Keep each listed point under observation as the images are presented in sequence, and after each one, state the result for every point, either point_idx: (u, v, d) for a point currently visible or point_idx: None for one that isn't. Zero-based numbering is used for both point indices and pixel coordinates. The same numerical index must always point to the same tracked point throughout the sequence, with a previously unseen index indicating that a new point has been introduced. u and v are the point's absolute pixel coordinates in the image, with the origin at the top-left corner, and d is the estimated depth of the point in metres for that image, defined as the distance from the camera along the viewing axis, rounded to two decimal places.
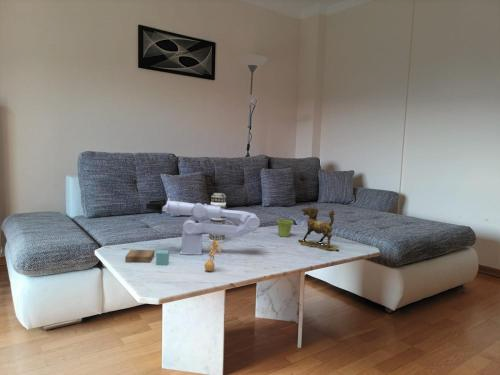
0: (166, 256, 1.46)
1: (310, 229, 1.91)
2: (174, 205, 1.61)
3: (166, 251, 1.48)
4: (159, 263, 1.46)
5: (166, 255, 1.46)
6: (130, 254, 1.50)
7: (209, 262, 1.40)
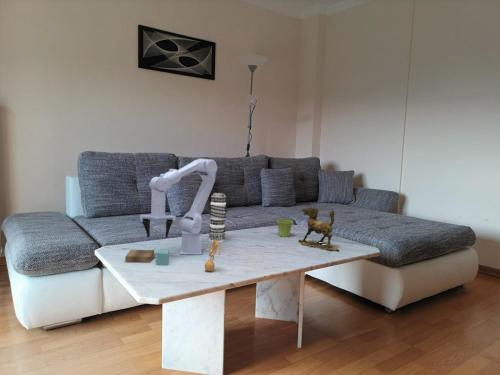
0: (166, 256, 1.46)
1: (310, 229, 1.91)
2: (163, 210, 1.52)
3: (166, 251, 1.48)
4: (159, 263, 1.46)
5: (166, 255, 1.46)
6: (130, 254, 1.50)
7: (209, 262, 1.40)
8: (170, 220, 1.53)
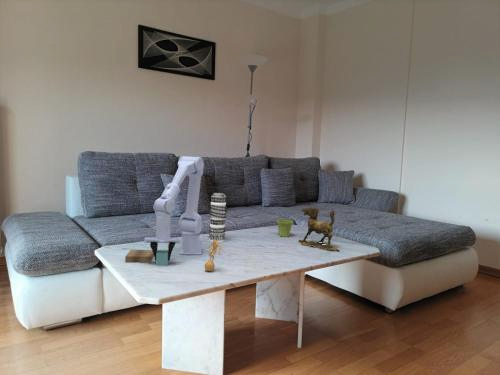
0: (166, 256, 1.46)
1: (310, 229, 1.91)
2: (169, 233, 1.46)
3: (166, 251, 1.48)
4: (159, 263, 1.46)
5: (166, 255, 1.46)
6: (130, 254, 1.50)
7: (209, 262, 1.40)
8: None
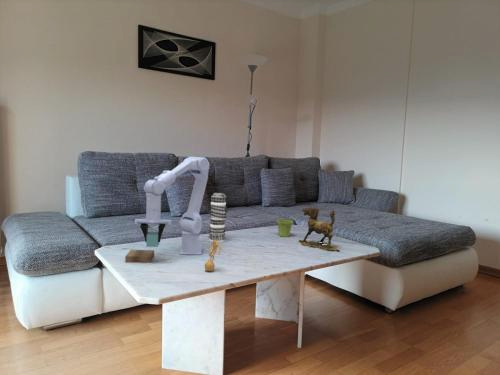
0: (156, 237, 1.47)
1: (311, 229, 1.91)
2: (159, 214, 1.47)
3: (156, 233, 1.50)
4: (149, 244, 1.47)
5: (156, 236, 1.47)
6: (130, 254, 1.50)
7: (209, 262, 1.40)
8: (166, 224, 1.48)
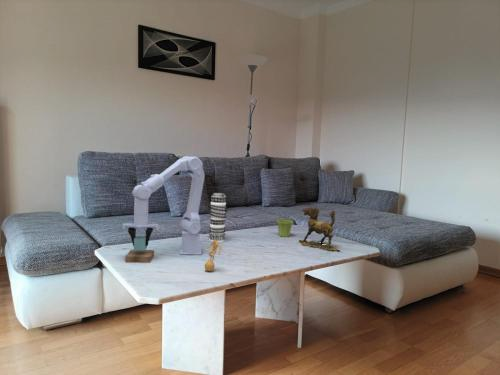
0: (143, 241, 1.50)
1: (311, 229, 1.90)
2: (146, 219, 1.50)
3: (144, 237, 1.53)
4: (137, 248, 1.50)
5: (143, 240, 1.50)
6: (130, 254, 1.50)
7: (209, 262, 1.40)
8: (153, 228, 1.51)
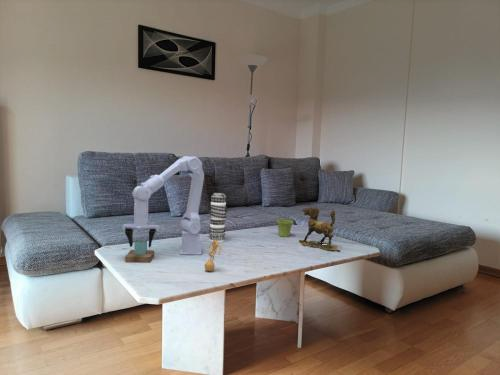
0: (144, 245, 1.50)
1: (311, 229, 1.90)
2: (146, 220, 1.50)
3: (144, 241, 1.53)
4: (137, 252, 1.50)
5: (144, 244, 1.50)
6: (130, 254, 1.50)
7: (209, 262, 1.40)
8: (153, 229, 1.51)
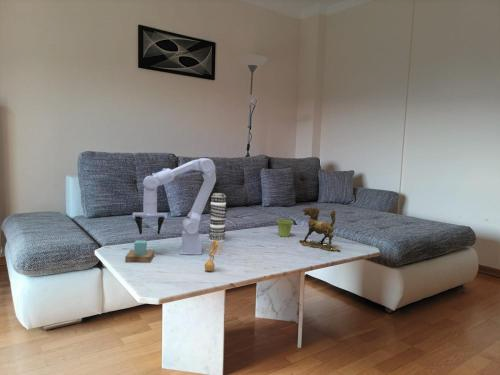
0: (144, 245, 1.50)
1: (311, 229, 1.90)
2: (155, 208, 1.57)
3: (144, 241, 1.53)
4: (137, 252, 1.50)
5: (144, 244, 1.50)
6: (130, 254, 1.50)
7: (209, 262, 1.40)
8: (162, 217, 1.58)
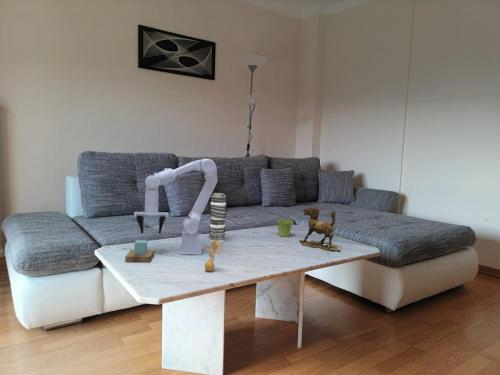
0: (144, 245, 1.51)
1: (311, 229, 1.90)
2: (156, 207, 1.58)
3: (144, 241, 1.53)
4: (137, 252, 1.50)
5: (144, 244, 1.51)
6: (130, 254, 1.50)
7: (209, 262, 1.40)
8: (163, 217, 1.59)
